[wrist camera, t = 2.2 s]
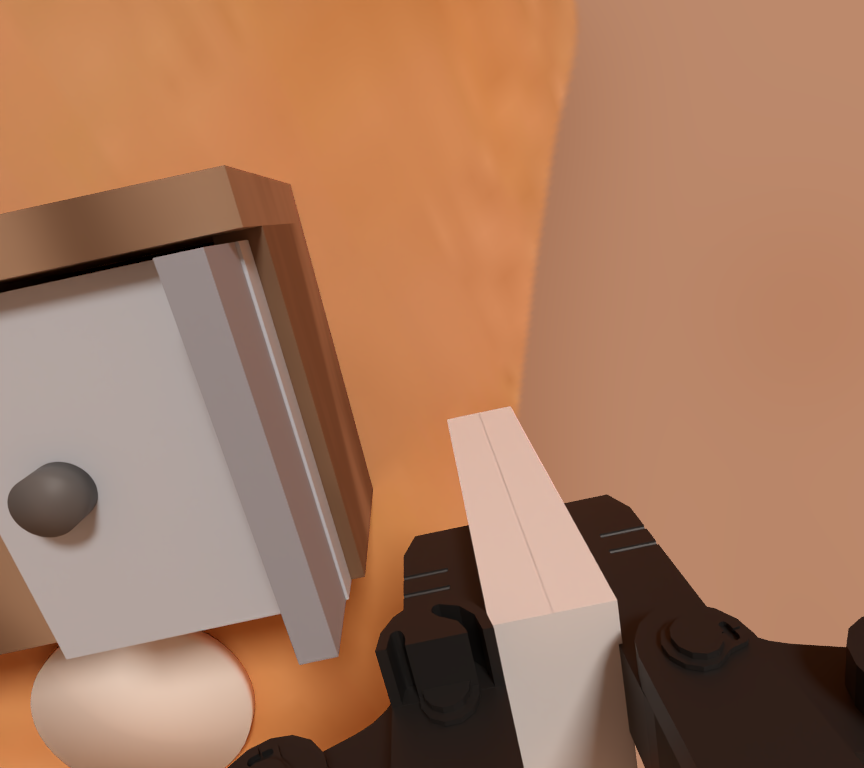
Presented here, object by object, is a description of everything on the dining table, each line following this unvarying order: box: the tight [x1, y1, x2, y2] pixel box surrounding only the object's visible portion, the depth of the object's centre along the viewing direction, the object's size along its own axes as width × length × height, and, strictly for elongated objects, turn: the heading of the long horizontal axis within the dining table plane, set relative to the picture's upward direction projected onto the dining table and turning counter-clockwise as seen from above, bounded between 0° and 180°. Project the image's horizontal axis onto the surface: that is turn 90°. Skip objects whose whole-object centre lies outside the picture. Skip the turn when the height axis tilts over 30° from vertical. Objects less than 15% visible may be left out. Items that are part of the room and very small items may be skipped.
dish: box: [31, 631, 255, 768], centre depth 28 cm, size 11×11×1 cm
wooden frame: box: [0, 165, 373, 655], centre depth 20 cm, size 20×14×8 cm
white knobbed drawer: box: [0, 240, 351, 665], centre depth 16 cm, size 10×12×4 cm
